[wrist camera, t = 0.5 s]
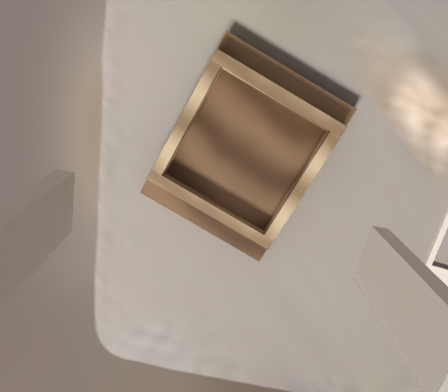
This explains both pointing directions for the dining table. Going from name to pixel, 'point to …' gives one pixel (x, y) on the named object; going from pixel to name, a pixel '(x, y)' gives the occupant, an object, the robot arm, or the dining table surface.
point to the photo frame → (440, 272)
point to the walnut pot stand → (246, 147)
